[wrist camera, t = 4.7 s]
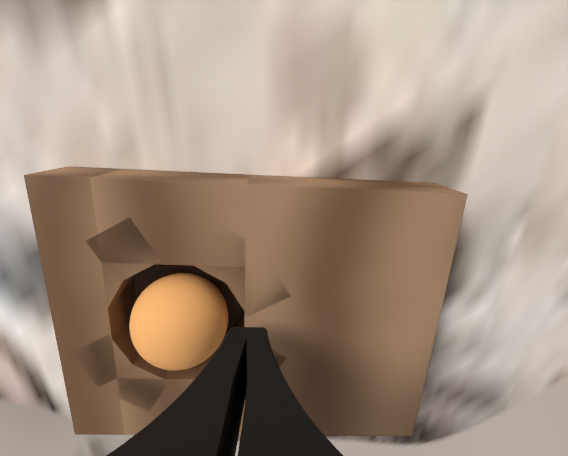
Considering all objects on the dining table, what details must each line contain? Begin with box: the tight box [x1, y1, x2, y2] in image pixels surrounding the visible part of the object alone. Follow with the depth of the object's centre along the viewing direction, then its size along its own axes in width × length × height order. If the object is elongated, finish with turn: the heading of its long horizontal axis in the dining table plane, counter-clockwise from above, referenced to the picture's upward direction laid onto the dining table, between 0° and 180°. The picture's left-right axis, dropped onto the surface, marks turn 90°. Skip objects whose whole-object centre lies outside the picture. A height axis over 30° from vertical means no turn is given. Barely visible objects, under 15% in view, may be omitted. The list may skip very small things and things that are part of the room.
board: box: [24, 167, 468, 436], centre depth 14 cm, size 16×12×2 cm
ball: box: [129, 273, 228, 370], centre depth 14 cm, size 4×4×4 cm
